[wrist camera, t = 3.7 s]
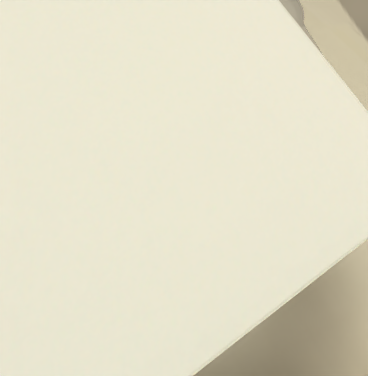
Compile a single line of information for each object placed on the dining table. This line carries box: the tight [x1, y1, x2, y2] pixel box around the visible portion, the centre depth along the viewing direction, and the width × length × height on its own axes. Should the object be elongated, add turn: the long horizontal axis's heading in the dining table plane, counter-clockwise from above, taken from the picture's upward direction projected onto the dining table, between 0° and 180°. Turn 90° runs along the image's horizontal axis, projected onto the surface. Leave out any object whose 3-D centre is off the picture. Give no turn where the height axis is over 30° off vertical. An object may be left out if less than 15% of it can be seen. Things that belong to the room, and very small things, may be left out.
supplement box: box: [0, 0, 368, 376], centre depth 14 cm, size 10×9×17 cm
